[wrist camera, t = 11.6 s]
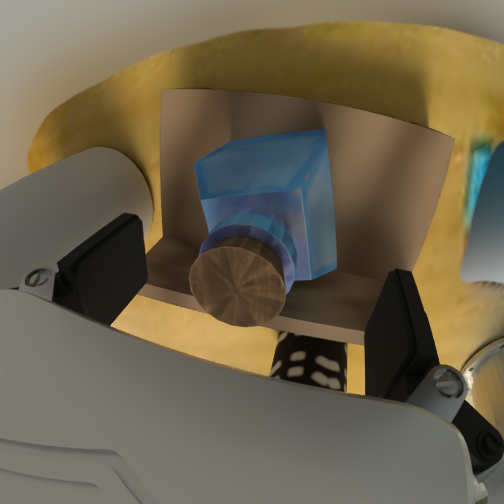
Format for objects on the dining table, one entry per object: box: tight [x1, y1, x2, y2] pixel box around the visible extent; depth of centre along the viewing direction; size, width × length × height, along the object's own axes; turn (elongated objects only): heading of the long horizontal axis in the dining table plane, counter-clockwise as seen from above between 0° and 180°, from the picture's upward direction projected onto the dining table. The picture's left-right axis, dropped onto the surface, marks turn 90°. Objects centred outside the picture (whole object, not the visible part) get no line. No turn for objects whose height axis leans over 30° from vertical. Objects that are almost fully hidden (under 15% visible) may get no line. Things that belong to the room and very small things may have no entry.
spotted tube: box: [269, 331, 347, 392], centre depth 26 cm, size 8×8×20 cm
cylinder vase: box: [0, 147, 153, 289], centre depth 20 cm, size 12×12×25 cm
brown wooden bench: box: [137, 88, 455, 345], centre depth 20 cm, size 20×13×12 cm, turn 85°
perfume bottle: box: [189, 129, 337, 327], centre depth 14 cm, size 6×6×12 cm
